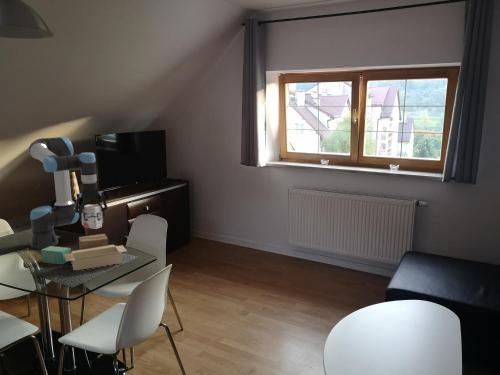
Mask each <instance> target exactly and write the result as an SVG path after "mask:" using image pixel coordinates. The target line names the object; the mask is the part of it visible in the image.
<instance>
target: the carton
mask: <svg viewBox="0 0 500 375" xmlns="http://www.w3.org/2000/svg"><path fill="white" fill-rule="evenodd" d="M126 252H128V250H127V249H126V247H125V246H124V245H115V244H108V246H102V247H95V248H89V249H82V250H80V249H77V250H71V253H70V254H65V255H64V256H65V259H66V261H69V262H70V264H72V265H71V268H72V267H73V268H72V270H80V269H86V268H92V267H98V266H104V267H107V266H106V265H109V266H114V265H113V264H115V265H121V264H123V255H122V254H123V253H126ZM98 268H99V267H98ZM92 269H93V268H92Z"/></svg>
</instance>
